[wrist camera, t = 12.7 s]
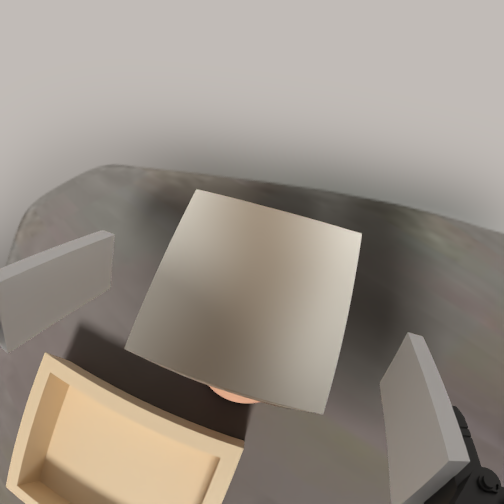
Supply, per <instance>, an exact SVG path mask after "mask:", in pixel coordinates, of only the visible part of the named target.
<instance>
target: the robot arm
mask: <svg viewBox="0 0 504 504" xmlns="http://www.w3.org/2000/svg"><path fill="white" fill-rule="evenodd" d="M114 238H115V234H112V233H109V232H106V231H104V230H101V231H98V232H95V233H92V234H89V235H87V236H84V237H81V238H78V239H75V240H73V241H70V242H67V243H64V244H62V245H59V246H56V247H54V248H51V249H48V250H46V251H43V252H40V253H38V254H35V255H33V256H30V257H28V258H25V259H23V260H20V261H18V262H15V263H13V264H10V265H8V266H5V267H3V268H0V347H1V348H2V349H4V350H5V351H6V352H7V353H8V354H9V353H10V352H12V351H13V350H15V349H16V348H18V347H19V346H21V345H22V344H24V343H25V342H27V341H28V340H30V339H31V338H33V337H34V336H36V335H37V334H39V333H40V332H42V331H43V330H45V329H47V328H48V327H50V326H51V325H53V324H54V323H56V322H57V321H59V320H61V319H62V318H64V317H65V316H67V315H68V314H70V313H72V312H73V311H75V310H76V309H78V308H80V307H81V306H83V305H84V304H86V303H88V302H89V301H91V300H92V299H94V298H96V297H97V296H99V295H101V294H102V293H104V292H105V291H107V290H109V289H110V288H111V274H112V260H113V249H114ZM379 386H380V392H381V399H382V407H383V415H384V423H385V432H386V441H387V452H388V464H389V478H390V496H391V504H423V503H424V504H504V487H501V483H500V480H499V478H498V476H497V475H496V474H495V473H494V472H493V471H492V470H490V469H488V468H484V467H481V465H480V461H479V458H478V455H477V452H476V449H475V446H474V443H473V440H472V438H470V437H471V434H470V432H469V429H467V428H468V426H467V423H466V421H465V418H464V416H463V415H462V413H461V412H460V411H459V410H458V408H457V407H456V406H452V405H451V402H450V400H449V397H448V395H447V392H446V389H445V387H444V384H443V382H442V379H441V377H440V375H439V372H438V370H437V367H436V365H435V363H434V360H433V358H432V356H431V353H430V351H429V349H428V347H427V344H426V342H425V340H424V338H423V336H420V335H416V334H413V333H409V332H407V334H406V336H405V338H404V340H403V342H402V344H401V346H400V348H399V349H398V351H397V353H396V355H395V357H394V359H393V360H392V362H391V364H390V366H389V367H388V369H387V371H386V373H385V374H384V376H383V378H382V379H381V381H380V383H379Z"/></svg>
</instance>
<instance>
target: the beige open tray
mask: <svg viewBox="0 0 504 504" xmlns="http://www.w3.org/2000/svg"><path fill="white" fill-rule="evenodd" d="M243 449H244V441H243V440H240V439H237V438H234V437H231V436H228V435H225V434H222V433H220V432H217V431H214V430H211V429H208V428H206V427H203V426H201V425H198V424H195V423H193V422H190V421H188V420H185V419H183V418H180V417H178V416H176V415H173V414H171V413H169V412H166V411H164V410H162V409H160V408H157V407H155V406H153V405H151V404H149V403H147V402H144V401H142V400H140V399H138V398H136V397H134V396H132V395H130V394H128V393H126V392H124V391H122V390H120V389H118V388H116V387H115V386H113V385H111V384H109V383H107V382H105V381H103V380H102V379H100V378H98V377H96V376H95V375H93V374H91V373H89V372H88V371H86V370H84V369H82V368H81V367H79V366H77V365H76V364H74V363H72V362H71V361H69V360H66V359H63V358H60V357H57V356H54V355H51V354H48V353H46V352H45V354H44V357H43V359H42V362H41V364H40V367H39V370H38V372H37V375H36V378H35V381H34V383H33V386H32V389H31V392H30V395H29V398H28V401H27V404H26V407H25V411H24V414H23V417H22V421H21V424H20V428H19V431H18V435H17V439H16V442H15V446H14V450H13V455H12V459H11V463H10V468H9V473H8V478H7V483H6V487H7V488H8V489H9V490H10V491H11V492H12V493H14V494H15V495H16V496H17V497H18V498H19V499H21V500H22V501H23V502H24V503H25V504H222V501H223V499H224V497H225V494H226V492H227V489H228V487H229V484H230V482H231V479H232V477H233V474H234V472H235V469H236V467H237V464H238V462H239V459H240V457H241V454H242V452H243Z"/></svg>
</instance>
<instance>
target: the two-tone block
mask: <svg viewBox="0 0 504 504" xmlns="http://www.w3.org/2000/svg"><path fill="white" fill-rule="evenodd" d="M361 237H362V234H361V233H358V232H355V231H351V230H348V229H345V228H341V227H338V226H334V225H331V224H327V223H324V222H321V221H317V220H314V219H310V218H306V217H303V216H299V215H296V214H292V213H288V212H285V211H281V210H277V209H274V208H270V207H266V206H262V205H258V204H255V203H251V202H247V201H243V200H239V199H235V198H231V197H227V196H223V195H219V194H215V193H211V192H207V191H203V190H198V189H196V191H195V193H194V195H193V197H192V199H191V201H190V203H189V205H188V207H187V209H186V211H185V213H184V215H183V217H182V219H181V221H180V223H179V225H178V227H177V229H176V231H175V233H174V235H173V237H172V239H171V242H170V244H169V246H168V248H167V250H166V252H165V254H164V257H163V259H162V261H161V263H160V265H159V267H158V270H157V272H156V274H155V276H154V279H153V281H152V283H151V285H150V288H149V290H148V292H147V295H146V297H145V299H144V302H143V304H142V306H141V309H140V311H139V313H138V316H137V318H136V321H135V323H134V325H133V328H132V330H131V333H130V335H129V338H128V340H127V343H126V345H125V348H124V349H125V350H127V351H130V352H132V353H134V354H136V355H138V356H140V357H142V358H144V359H146V360H149V361H151V362H153V363H155V364H157V365H160V366H162V367H164V368H166V369H169V370H171V371H173V372H176V373H178V374H180V375H183V376H185V377H188V378H190V379H193V380H195V381H198V382H200V383H203V384H206V385H209V386H212V387H215V388H218V389H221V390H224V391H227V392H230V393H233V394H236V395H239V396H243V397H246V398H249V399H253V400H256V401H260V402H263V403H267V404H270V405H274V406H278V407H283V408H289V409H294V410H300V411H305V412H311V413H318V414H324V410H325V407H326V403H327V400H328V396H329V392H330V389H331V385H332V381H333V377H334V374H335V370H336V366H337V362H338V358H339V353H340V349H341V345H342V340H343V336H344V331H345V327H346V322H347V317H348V313H349V308H350V303H351V297H352V292H353V287H354V281H355V275H356V270H357V263H358V257H359V251H360V244H361Z"/></svg>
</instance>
